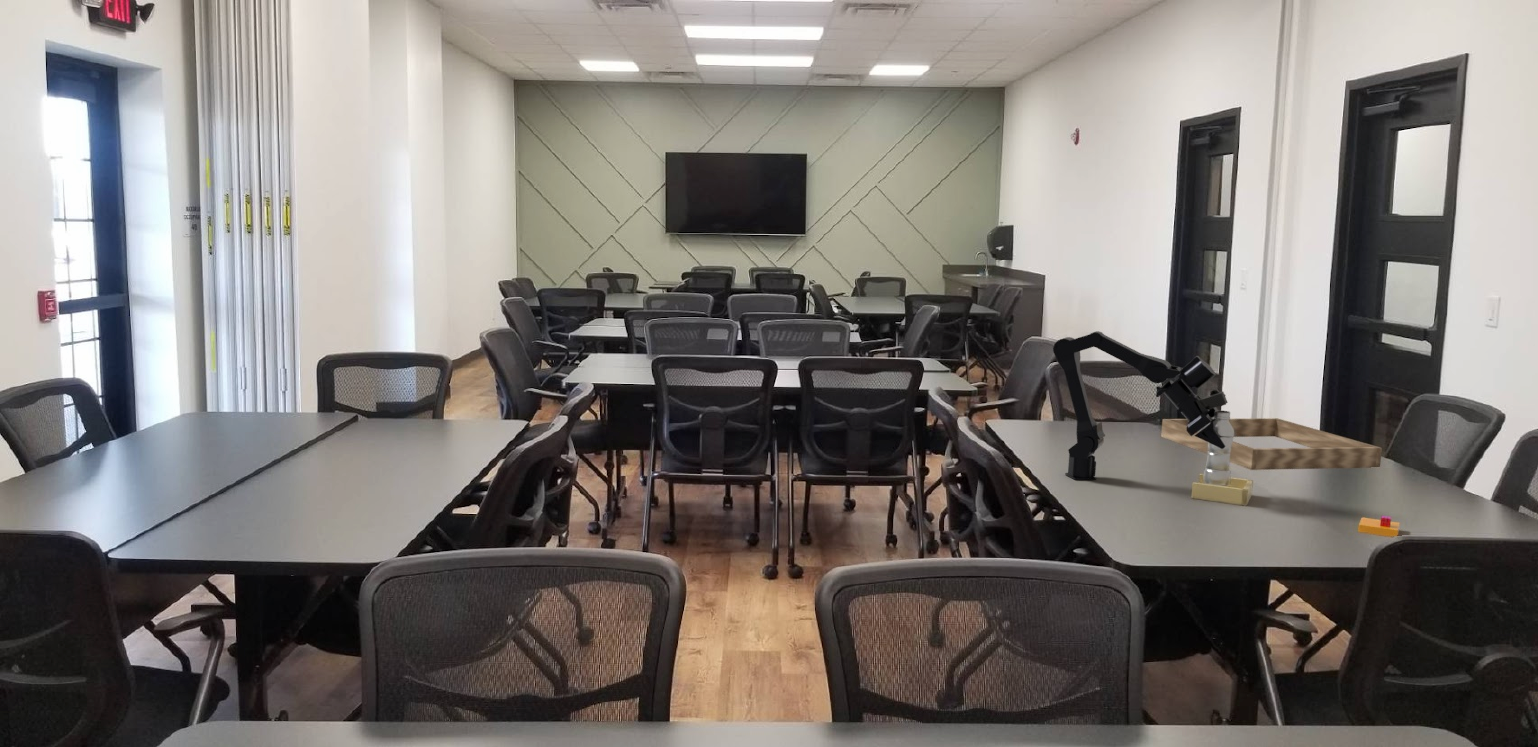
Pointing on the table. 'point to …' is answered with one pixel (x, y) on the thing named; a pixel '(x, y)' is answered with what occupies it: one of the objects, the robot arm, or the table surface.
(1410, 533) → the table surface
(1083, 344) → the robot arm
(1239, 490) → the bay
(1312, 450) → the frame
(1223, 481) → the plastic bottle
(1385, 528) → the orange block
